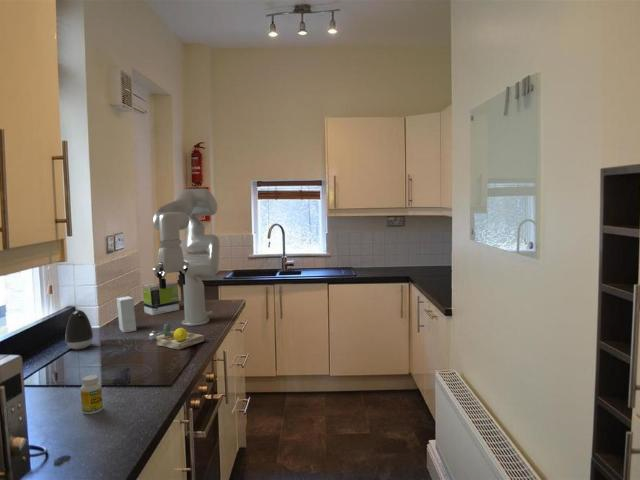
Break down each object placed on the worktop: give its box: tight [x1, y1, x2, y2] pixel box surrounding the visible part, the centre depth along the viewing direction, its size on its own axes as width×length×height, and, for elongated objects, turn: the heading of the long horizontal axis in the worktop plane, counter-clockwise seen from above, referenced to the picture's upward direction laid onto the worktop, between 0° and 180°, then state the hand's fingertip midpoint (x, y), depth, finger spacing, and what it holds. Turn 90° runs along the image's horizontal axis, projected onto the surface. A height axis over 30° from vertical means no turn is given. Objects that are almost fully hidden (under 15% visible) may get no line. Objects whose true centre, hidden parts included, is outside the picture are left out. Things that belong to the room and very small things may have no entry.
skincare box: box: [116, 295, 137, 333], centre depth 227 cm, size 8×6×15 cm
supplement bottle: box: [79, 374, 104, 415], centre depth 141 cm, size 5×5×10 cm
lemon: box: [174, 327, 188, 341], centre depth 204 cm, size 7×5×5 cm
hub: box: [148, 329, 162, 341], centre depth 212 cm, size 5×5×3 cm
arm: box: [156, 323, 205, 350], centre depth 205 cm, size 19×13×7 cm
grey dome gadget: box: [64, 309, 94, 350], centre depth 202 cm, size 10×10×15 cm
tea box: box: [142, 280, 180, 316], centre depth 262 cm, size 15×10×15 cm
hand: (172, 286), depth 203 cm, fingers open, 9 cm apart
